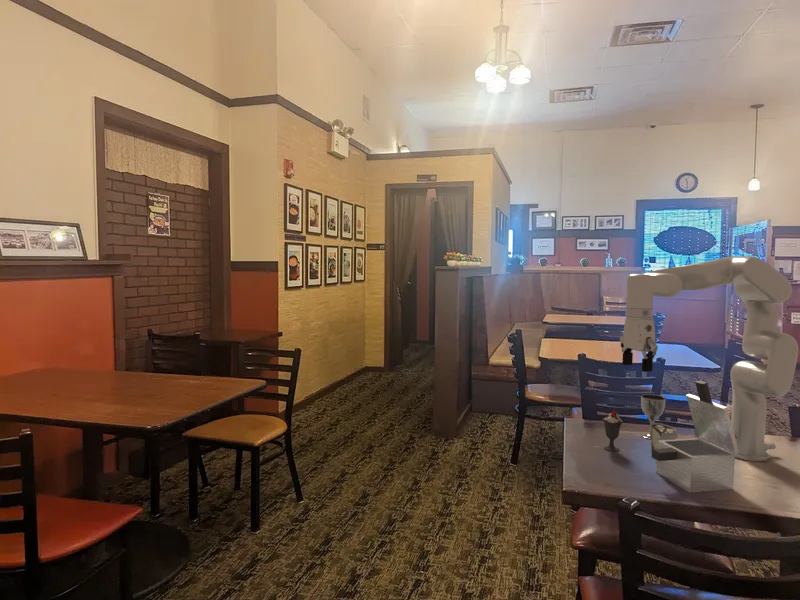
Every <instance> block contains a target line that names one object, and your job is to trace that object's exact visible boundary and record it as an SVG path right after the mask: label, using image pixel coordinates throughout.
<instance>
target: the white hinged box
mask: <svg viewBox="0 0 800 600" xmlns="http://www.w3.org/2000/svg"><path fill="white" fill-rule="evenodd" d="M651 458H652V459H655V460H656V464H655V473H657V474H658V475H660V477H662V478H665V479H666V480H668V481H670V483H672V484H675V485H676V486H678V487H679V488H681V489H683V490H685V491H686V492H687V493H690V494H691V492H693V493H703V492H702V491H704V492H712V491H713V492H714V491H726V490H734V477H735V462H736V461H735V460H736V459H735V458H736V457H735V455H734V454H732V453H730V452H728V451H725V450H724V449H723V448H720V447H718V446H716V445H714V444H711V443H709V442H707V441H705V440H703V439H700V438H698V437H694V438H691V437H690V438H678V439H677V438H676V439H674V440H658V443H657V449H652V452H651Z"/></svg>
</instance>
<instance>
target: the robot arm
mask: <svg viewBox="0 0 800 600" xmlns="http://www.w3.org/2000/svg"><path fill="white" fill-rule="evenodd" d="M730 284H734V290H735V294H736V295H737V296H738V298H739V299H740V300H741V301H742V302H743V305H744V306H745V309H746V322H745V327H744V330H743V331H744V332H743V336H742V344H741V349H742V352H743V353H744V354H745V355H747V356H749V357H751V358H755V359H756V358H757V359H759V360H765V361H767V364H765V363H762V362H758V361H753V360H740V361H737V362H736V363H734V365H732V368H731V369H730V373H729V374H730V383H731V388H732V389H731V390H732V398H731V399H732V402H731V415H730V416H731V417H730V420H731V423H732V427H733V431H734V434H735V435H736V436H737V439H736V442H737V446H738V450H739V453H738V454H734V453H732V454H734V455H735V458H737V459H740V460H744V461H749V462H767V461H768V460H769V459H770V454H769V453H768V452H767V451H768V450H776V448H777V447H776V444H775V443H773V442H771V443H770V442H769V443H766V442H765V436H766V422H767V421H766V420H767V419H766V418H767V411H768V409H767V408H768V407H767V406H768V405H767V400H766V397H765V396H769V397H773V398H781V397H783V396H785V395H787V394H788V393H789V391H790V390H791V387H792V384H793V381H794V375H795V371H796V367H797V362H798V358H799V357H798V356H799V346H798V345H799V344H798V342H797V340H796V339H795V337H793V336H792V335H791V334H789V333H786V332H780V331H778V325H779V312H778V308H777V306H776V304H781V303H784V302H785V301H787V300H789V298H790V297H791V296H792V293H793V287H792V284H791V282H790V280H789V279H788V278H787V277H786V276H785V275H784V274H782V273H781V272H779V271H778V270H777V269H775V268H774V267H773V266H772V265H771V264H769V263H768V262H766V261H765V260H764V259H762V258H759V257H757V256H738V255H737V256H727V257H723V258H718V259H713V260H709V261H703V262H697V263H692V264H685V265H679V266H676V267H675V266H674V267H673V266H672V267H668V268H660V269H657V270H652V271H651V270H650V271H647V272H645V273H631V274H628V276H627V280H626V299H625V301H626V302H625V303H626V304H625V320H624V325H623V326H624V327H623V335H622V336H620V337H619V341H620V347H621V352H622V365H623V366H632V365H633V362H634V361H633V359H634V358H633V357H634V353H633V352H632V351H637V352H641V354H642V358H641V371H642V372H644V373H646V372H653V361H654V359H655V357H656V355H657V352H658V350H659V346H658V344H656V329H655V328H656V327H655V326H656V325H655V320H654V319H653V308H654V297H656V298H657V297H658V298H666V299H667V298H669V299H670V298H673V297H676V296H677V295H679V294H680V293H681V291H703V290H708V289H712V288H716V287H721V286H725V285H730ZM723 450H725V449H723ZM725 451H727V450H725ZM728 452H729V451H728ZM730 453H731V452H730Z"/></svg>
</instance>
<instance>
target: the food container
mask: <svg viewBox="0 0 800 600" xmlns="http://www.w3.org/2000/svg"><path fill="white" fill-rule="evenodd" d="M651 428H652V440H651V447H650V449H651V450H650V452H651V453H652V449H657V443H658V440H674V439H677V438H678V433H677V430H676V428H675V427H674V426H671V425H668V424H664V423H661V422H655V421H654V422H652V426H651Z"/></svg>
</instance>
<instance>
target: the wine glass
mask: <svg viewBox="0 0 800 600" xmlns="http://www.w3.org/2000/svg"><path fill="white" fill-rule="evenodd" d="M640 396H641V397H640V404H641V405H640V406H641V409H642V412H643V413H644V414H645V416H646V417H647V419H648V421H649V424H650V426H649V427H650V429H649V433H642V435H641V434H640V437H641V436H642V437H641V438H643V437H644V438H643V439H645V438H647V439H646V440H649V439H650V440H649V441H652V428H651V426H652V422H654V423H655V421H656V420H657V419H658V418H659V417H660V416H662V414H663V413H664V410H665V407H666V397H665V396H663V395H659V394H654V393H652V394H651V393H644V394H641V395H640Z"/></svg>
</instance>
